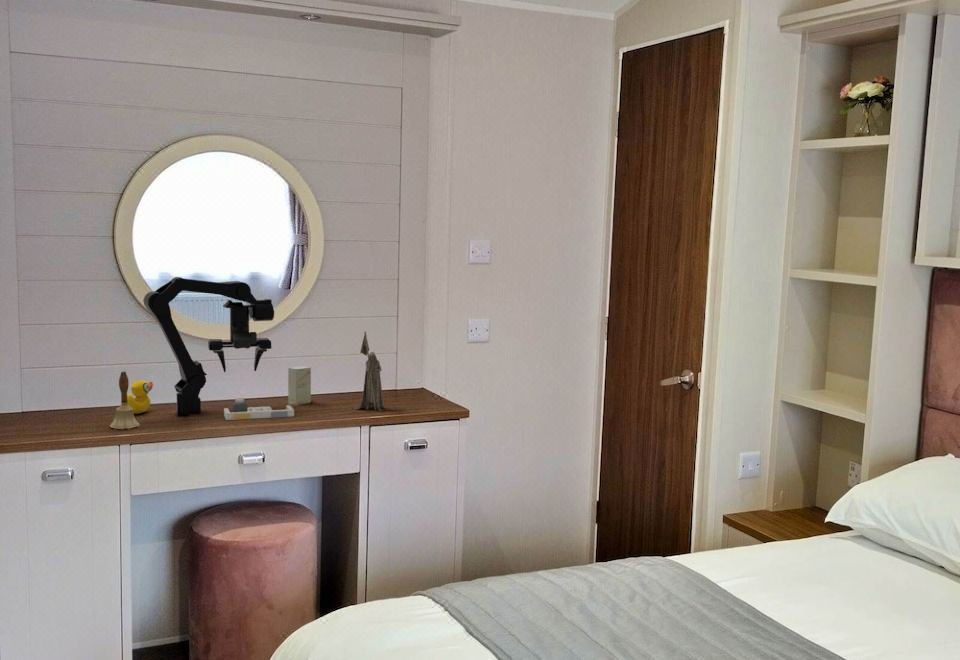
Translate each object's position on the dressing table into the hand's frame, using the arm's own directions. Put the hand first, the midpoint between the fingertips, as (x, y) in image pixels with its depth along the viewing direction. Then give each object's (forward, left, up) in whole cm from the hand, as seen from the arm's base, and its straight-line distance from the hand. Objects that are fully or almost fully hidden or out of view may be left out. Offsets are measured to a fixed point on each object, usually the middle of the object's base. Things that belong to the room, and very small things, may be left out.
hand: (240, 371), depth 296 cm
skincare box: (+19, +3, -12) cm, 23 cm away
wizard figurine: (+39, -10, -12) cm, 42 cm away
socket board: (+4, -14, -12) cm, 19 cm away
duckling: (-30, +2, -12) cm, 32 cm away
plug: (-1, -13, -12) cm, 18 cm away
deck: (+4, -4, -12) cm, 13 cm away
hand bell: (-34, -16, -12) cm, 40 cm away
